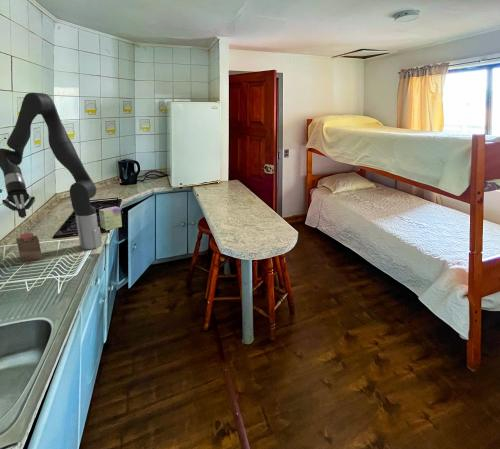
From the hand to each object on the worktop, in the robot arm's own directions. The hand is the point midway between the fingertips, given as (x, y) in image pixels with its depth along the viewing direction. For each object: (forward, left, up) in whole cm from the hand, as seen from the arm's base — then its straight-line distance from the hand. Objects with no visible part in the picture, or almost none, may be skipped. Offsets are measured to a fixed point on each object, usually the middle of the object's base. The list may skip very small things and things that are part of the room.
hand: (23, 216), depth 150 cm
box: (-18, -46, -20) cm, 53 cm away
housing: (0, 0, -20) cm, 20 cm away
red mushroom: (0, 0, -18) cm, 18 cm away
